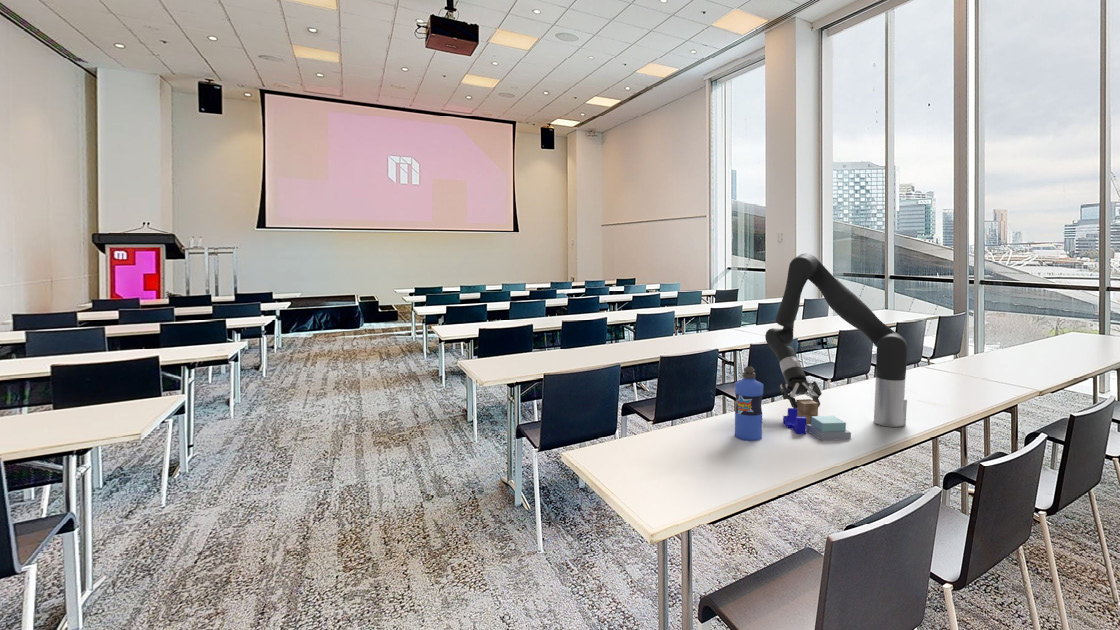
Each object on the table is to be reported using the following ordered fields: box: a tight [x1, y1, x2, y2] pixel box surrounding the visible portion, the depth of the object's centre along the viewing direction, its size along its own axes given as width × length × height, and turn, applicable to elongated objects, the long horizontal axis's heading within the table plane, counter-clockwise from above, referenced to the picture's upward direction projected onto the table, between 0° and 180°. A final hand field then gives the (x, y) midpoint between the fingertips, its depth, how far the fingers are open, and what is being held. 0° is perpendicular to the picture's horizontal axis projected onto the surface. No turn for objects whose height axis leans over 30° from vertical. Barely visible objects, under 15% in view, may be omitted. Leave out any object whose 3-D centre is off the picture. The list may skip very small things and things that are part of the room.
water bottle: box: [734, 365, 764, 442], centre depth 184 cm, size 9×9×25 cm
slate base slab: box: [806, 424, 852, 441], centre depth 186 cm, size 10×10×3 cm
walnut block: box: [795, 398, 819, 426], centre depth 199 cm, size 6×6×8 cm
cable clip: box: [782, 407, 807, 435], centre depth 193 cm, size 12×4×6 cm, turn 172°
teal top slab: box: [811, 415, 847, 432], centre depth 186 cm, size 8×8×3 cm
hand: (807, 407), depth 199 cm, fingers open, 8 cm apart
